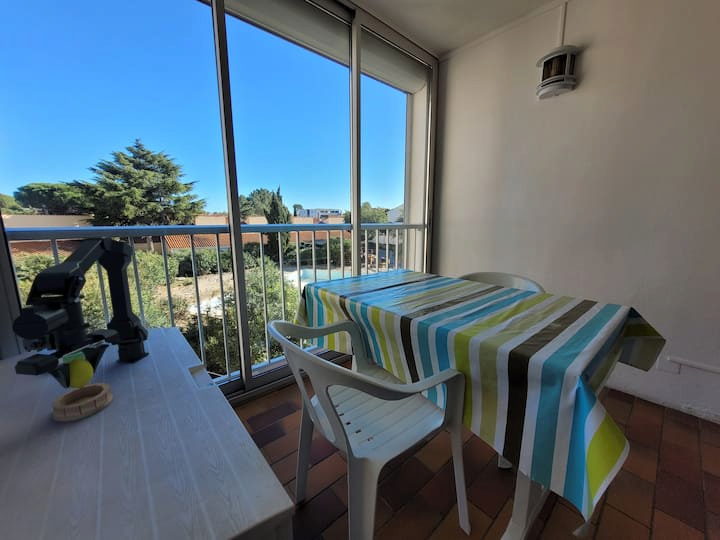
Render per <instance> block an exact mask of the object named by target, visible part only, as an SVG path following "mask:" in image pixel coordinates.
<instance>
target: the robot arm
mask: <svg viewBox="0 0 720 540" xmlns="http://www.w3.org/2000/svg"><path fill="white" fill-rule="evenodd" d="M132 255H133V248H132V246H131V245H130V244H129V243H127V242H126V241H119V240H116V239H112V238H109V237H106V236H88V237H84V239H83V240H82V242H81V244H80V245H79V246H78V247H77V248H76V249H74V250H73V251H72V252H71V254H69V256H68V257H66V258H65V259H64V260H63V261H62V262H60V263H58V264H56V265H52V266H48V267H47V268H44V269H43V270H41V271H40V272H38V273H37V274H36V275H35V277H34V279H32V283H31V286H30V288H29V292H28V295H27V298H26V301H25V307H22V308H21V313H22V314H20V315H18V316H17V317H16V318H14V320H13V323H12V325H11V327H12V331H13V333H14V334H15V335H16V336H18V337H19V338H21V339H22V347H23V348H24V350H25V352H28V353H29V352H32V351H34V350H35V351H36V353H35V354H33V355H30V356H28V357H26V358H23V359H19V360H18V361H17V362H16V363H15V365H14V371H15V374H16V375H22V376H23V375H24V376H36V377H37V376H40V375H44V374H46V373H48V374H49V375H51V376H52V377H53V378H54V379H55V380H56V381H57V383H59V385H60V386H61V387H62V388H63V389H69V388H70V387H69V386H70V365H69V363H64V362H63V357H66V356H68V355H70V354H73V353H75V352H77V351H80V350H81V351H82V352H83V353H84V355H85V359H86V360H87V361H88V362H90V364H91V365H92V367H93V375H94V374H95V375H96V371H97V369H98V367H99V365H100V362H101V359H102V358H103V355H104V354H105V352H106V350H107V349H108V348H110V344H111V346H116V345H117V347H118V349H117V354H118V359H116V363H123V364H124V363H126V364H129V363H130V364H135V363H136V362H139V361H140V360H142V359H144V358H145V357H147V356H148V354H149V355H150V352H145V345H144V344H145V343H144V342H145V341H148V337H149V331H148V330H147V329H146V328H145V327H144V326H143V325H142V323H141V319H140V318H139V316H138V315H137V314H136V313H134V312H133V305H132V300H131V291H130V285H129V284H130V283H129V277H128V271H127V269H128V267H129V266H130V264H131V262H132V261H133V259H132V258H133V257H132ZM96 262H97V264H99V265H100V266H101V267H102V268H103V269H104V270H105V271H106V276H107V281H108V288H109V290H108V291H109V295H110V302H111V309H112V317H111V319H110V321H109V322H108V323H107V324H106V328H98V329H96V330H94V331H91V332H89V333H88V332H87V329H88V328H90V327H91V324H90V322H85V317H84V312H83V306H82V303H81V302H82V301H81V300H83V299H85V295H84V294H83V293H81V291H82V290H83V288H84V286H85V285H86V283H87V279H86V274H87V273H88V271H89V270H90V269H91V268H92V267H93V265H94V264H95V263H96ZM45 349H46V351H52V353H50V354H47V353H46V354H45V353H39V352H42V351H44V350H45ZM53 351H54V352H53Z"/></svg>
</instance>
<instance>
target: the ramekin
mask: <svg viewBox="0 0 720 540" xmlns="http://www.w3.org/2000/svg"><path fill="white" fill-rule="evenodd" d="M73 359H84V360H86V359H85V355H84V353H83V352H82V351H81V350H80V351H77V352H75V353H73V354H70V355H68V356H66V357H63V362H64V363H69V362H70V361H72V360H73Z"/></svg>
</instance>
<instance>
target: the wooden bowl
mask: <svg viewBox="0 0 720 540" xmlns="http://www.w3.org/2000/svg"><path fill="white" fill-rule="evenodd" d="M111 389H112V388H111V386H110V385H109V383H106V382H95V383H93V382H92V383H87V384H86V385H84V386H83V388H72V389H70V390H68V391H65V392H64V393H62V394H60V395H58V396H57V397H56V398H54V400H53V401H52V402H51V406H52V407H51V408H52V412H51V416H52V417H51V418H52V420H53V421H54V422H56V423H71V422H76V421H81V420H83V419H85V418H88V417H91V416H93V415H96V414H98V413H99V412H101V411H103V410H104V409H106V408H108V407H109V406H110V404H111V403H112V402H113V401H114V394H113V392H112V390H111Z"/></svg>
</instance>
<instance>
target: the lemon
mask: <svg viewBox="0 0 720 540" xmlns="http://www.w3.org/2000/svg"><path fill="white" fill-rule="evenodd" d="M69 365H70V386H69V388H72V389H75V388H83V386H85V385H88V384H90V381H91V380H92V379H93V377H94V374H93V367H92V365H91V364H90V362H88V361H87V360H84V359H73V360H72V361H70V362H69Z"/></svg>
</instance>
